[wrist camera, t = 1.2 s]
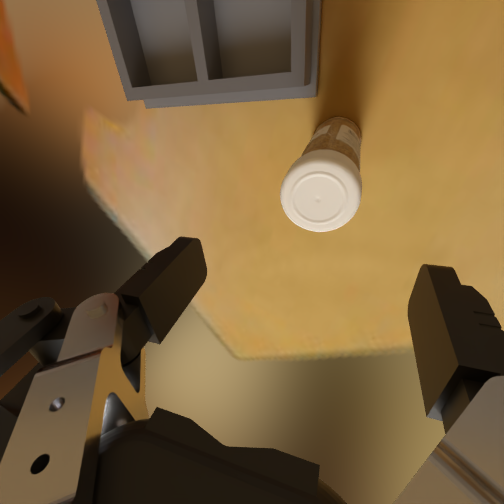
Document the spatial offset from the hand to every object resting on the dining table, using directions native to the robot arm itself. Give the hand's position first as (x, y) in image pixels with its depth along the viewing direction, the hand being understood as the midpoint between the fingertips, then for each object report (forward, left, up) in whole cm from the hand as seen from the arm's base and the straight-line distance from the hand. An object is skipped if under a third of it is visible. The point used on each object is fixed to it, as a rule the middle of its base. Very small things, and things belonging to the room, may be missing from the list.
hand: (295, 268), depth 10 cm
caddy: (+11, -10, -20) cm, 25 cm away
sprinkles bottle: (0, 0, -20) cm, 20 cm away
